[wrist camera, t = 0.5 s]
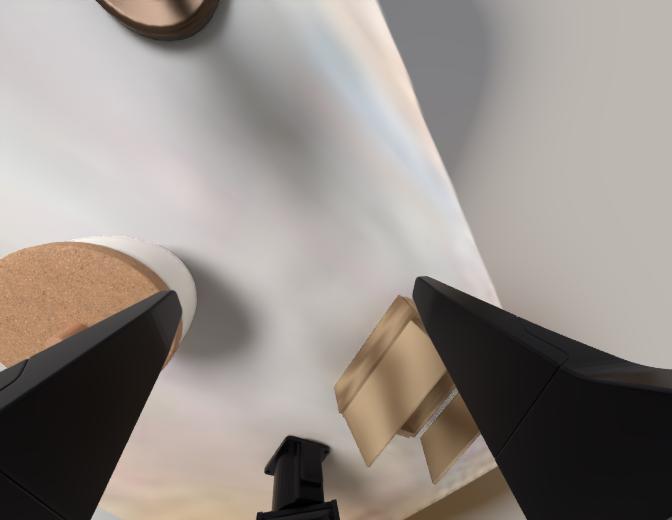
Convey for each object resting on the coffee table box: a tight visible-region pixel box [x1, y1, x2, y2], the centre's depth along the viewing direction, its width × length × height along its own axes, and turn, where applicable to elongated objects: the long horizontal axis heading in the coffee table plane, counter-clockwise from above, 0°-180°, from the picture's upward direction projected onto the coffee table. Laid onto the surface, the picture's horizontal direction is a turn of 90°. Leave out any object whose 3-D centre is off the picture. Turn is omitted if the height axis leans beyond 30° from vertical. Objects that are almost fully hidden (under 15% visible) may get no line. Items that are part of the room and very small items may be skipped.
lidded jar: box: [0, 236, 197, 371], centre depth 18 cm, size 11×11×9 cm
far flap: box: [420, 392, 481, 484], centre depth 25 cm, size 12×5×1 cm
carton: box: [334, 295, 456, 438], centre depth 28 cm, size 15×11×4 cm
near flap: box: [343, 321, 447, 467], centre depth 22 cm, size 12×5×1 cm
